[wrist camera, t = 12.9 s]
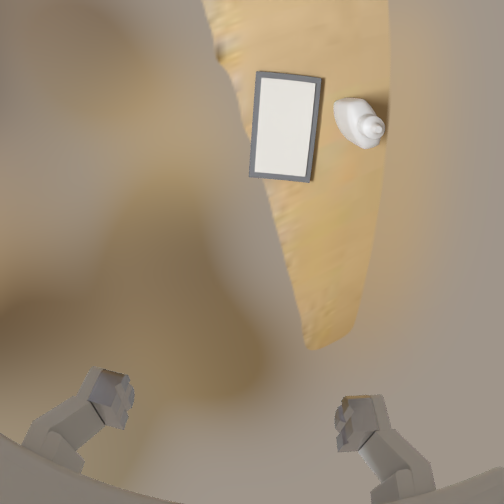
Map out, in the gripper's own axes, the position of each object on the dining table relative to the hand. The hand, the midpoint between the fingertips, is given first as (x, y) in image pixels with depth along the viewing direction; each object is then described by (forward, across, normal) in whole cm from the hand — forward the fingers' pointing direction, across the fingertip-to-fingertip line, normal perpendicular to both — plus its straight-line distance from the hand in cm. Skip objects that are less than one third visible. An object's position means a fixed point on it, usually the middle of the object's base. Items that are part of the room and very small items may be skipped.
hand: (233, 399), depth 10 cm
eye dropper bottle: (+33, -10, -8) cm, 36 cm away
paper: (+33, -2, -6) cm, 34 cm away
